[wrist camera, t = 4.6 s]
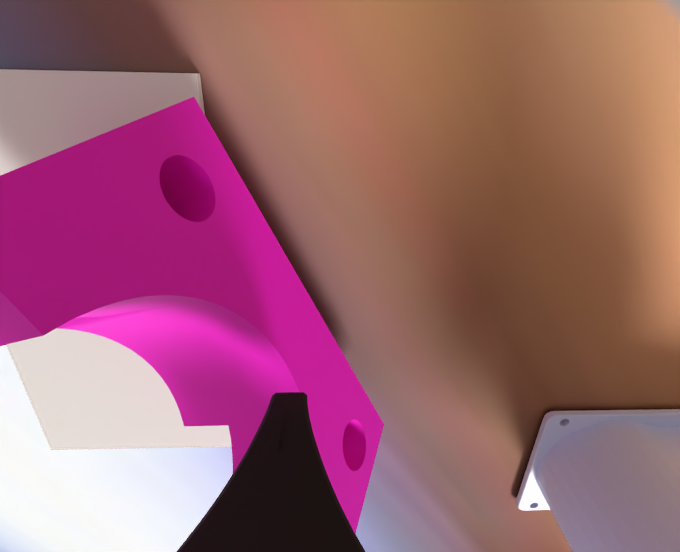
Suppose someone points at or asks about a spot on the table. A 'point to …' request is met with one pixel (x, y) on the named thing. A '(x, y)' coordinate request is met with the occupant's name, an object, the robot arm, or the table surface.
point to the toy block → (180, 284)
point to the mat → (72, 345)
